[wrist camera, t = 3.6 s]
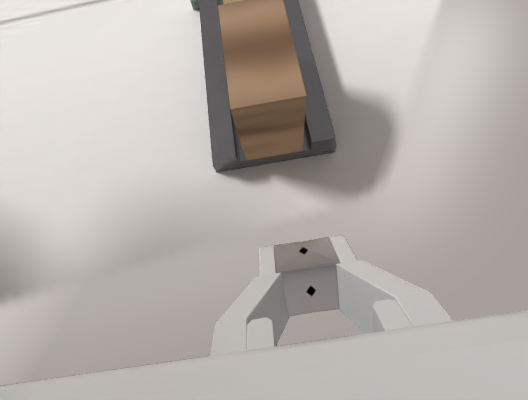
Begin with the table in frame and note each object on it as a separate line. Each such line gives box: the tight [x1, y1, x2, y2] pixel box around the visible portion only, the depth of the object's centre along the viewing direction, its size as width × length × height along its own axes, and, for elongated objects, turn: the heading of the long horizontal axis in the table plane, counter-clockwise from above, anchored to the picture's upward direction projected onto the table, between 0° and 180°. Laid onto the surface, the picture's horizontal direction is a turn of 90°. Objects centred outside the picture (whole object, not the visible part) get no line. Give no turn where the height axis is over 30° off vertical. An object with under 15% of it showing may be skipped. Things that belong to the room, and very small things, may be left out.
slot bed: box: [199, 0, 336, 172], centre depth 29 cm, size 22×11×2 cm, turn 8°
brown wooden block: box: [218, 0, 306, 161], centre depth 23 cm, size 10×5×7 cm, turn 8°
